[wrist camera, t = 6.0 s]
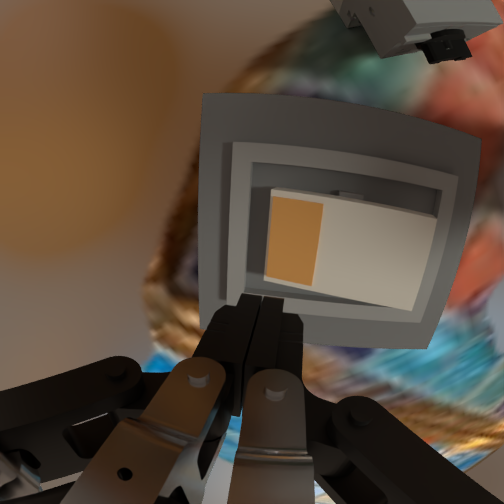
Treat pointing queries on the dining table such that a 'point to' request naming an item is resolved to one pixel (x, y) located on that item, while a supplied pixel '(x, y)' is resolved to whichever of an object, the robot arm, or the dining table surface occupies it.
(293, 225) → the breaker rocker
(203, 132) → the box
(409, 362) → the dining table surface
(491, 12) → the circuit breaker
